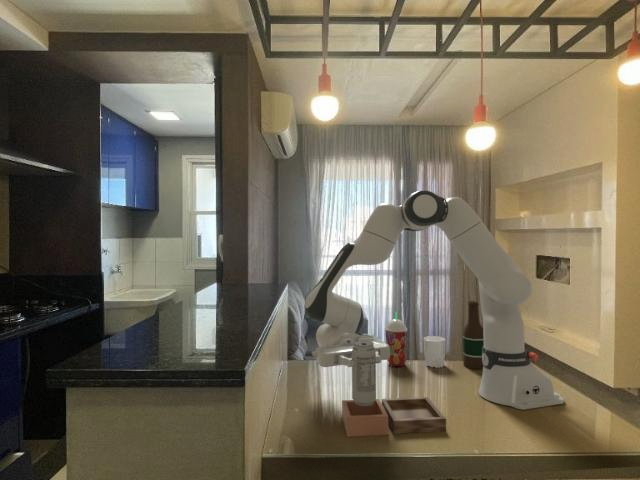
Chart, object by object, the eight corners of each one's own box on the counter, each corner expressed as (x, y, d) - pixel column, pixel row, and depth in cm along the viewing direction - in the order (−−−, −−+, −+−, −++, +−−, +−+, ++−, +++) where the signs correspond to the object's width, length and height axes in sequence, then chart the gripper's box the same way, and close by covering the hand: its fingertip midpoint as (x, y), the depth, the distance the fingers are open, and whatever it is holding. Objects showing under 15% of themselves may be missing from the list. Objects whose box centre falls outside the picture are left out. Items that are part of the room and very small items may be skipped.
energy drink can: (373, 396, 99) (373, 339, 99) (377, 407, 93) (377, 346, 93) (351, 396, 99) (350, 339, 98) (353, 407, 93) (353, 346, 92)
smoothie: (411, 363, 144) (410, 311, 144) (403, 369, 137) (402, 314, 137) (390, 360, 149) (389, 309, 149) (382, 365, 141) (381, 312, 142)
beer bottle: (458, 364, 142) (457, 301, 142) (474, 362, 145) (473, 299, 145) (474, 371, 134) (473, 304, 135) (490, 368, 138) (489, 302, 138)
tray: (427, 407, 105) (427, 397, 105) (446, 430, 92) (445, 418, 92) (381, 409, 104) (381, 399, 104) (394, 433, 91) (393, 421, 91)
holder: (379, 415, 101) (378, 399, 101) (388, 434, 91) (388, 416, 91) (342, 417, 100) (341, 400, 100) (347, 436, 90) (347, 417, 90)
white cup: (446, 369, 137) (446, 341, 137) (424, 368, 139) (424, 340, 139) (444, 362, 145) (443, 336, 145) (423, 361, 146) (422, 335, 146)
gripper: (309, 340, 105) (326, 354, 91) (375, 333, 111) (400, 345, 98) (309, 363, 105) (326, 380, 91) (375, 354, 111) (400, 369, 98)
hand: (365, 361), depth 95 cm, fingers closed on energy drink can, 6 cm apart
